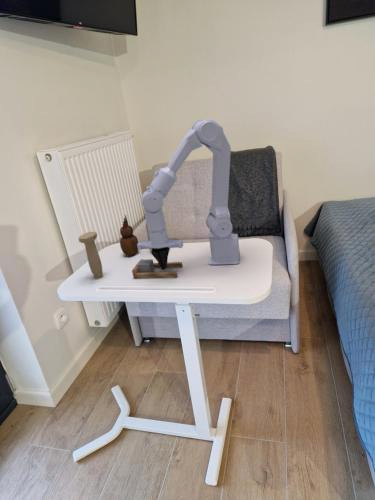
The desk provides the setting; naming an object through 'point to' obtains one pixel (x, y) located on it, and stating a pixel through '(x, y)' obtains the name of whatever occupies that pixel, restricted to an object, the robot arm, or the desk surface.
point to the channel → (157, 274)
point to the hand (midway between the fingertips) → (164, 268)
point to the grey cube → (146, 266)
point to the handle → (92, 253)
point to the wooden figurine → (128, 239)
